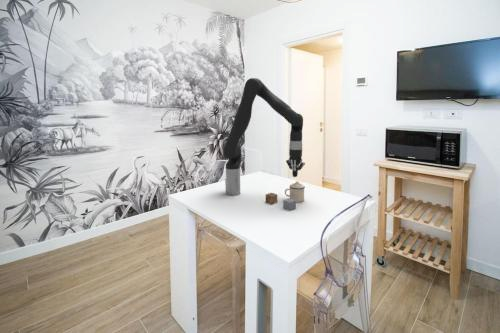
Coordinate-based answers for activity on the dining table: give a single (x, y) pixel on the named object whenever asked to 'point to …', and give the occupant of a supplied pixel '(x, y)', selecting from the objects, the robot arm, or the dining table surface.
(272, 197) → the walnut block
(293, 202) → the slate-grey block
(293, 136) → the robot arm
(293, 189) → the teacup with lid
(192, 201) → the dining table surface
